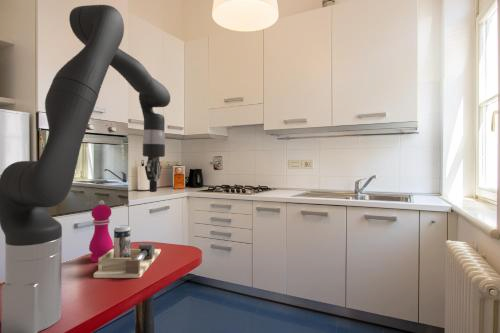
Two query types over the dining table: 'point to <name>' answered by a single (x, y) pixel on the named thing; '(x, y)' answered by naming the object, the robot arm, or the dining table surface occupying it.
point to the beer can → (122, 241)
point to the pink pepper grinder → (100, 232)
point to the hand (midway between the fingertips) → (153, 191)
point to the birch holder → (125, 263)
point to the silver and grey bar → (144, 254)
